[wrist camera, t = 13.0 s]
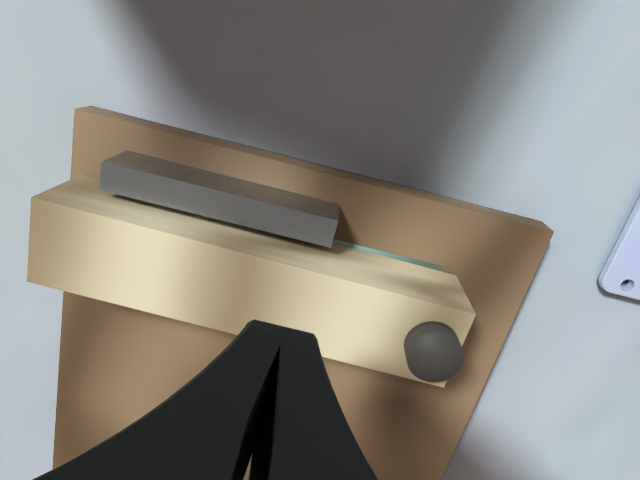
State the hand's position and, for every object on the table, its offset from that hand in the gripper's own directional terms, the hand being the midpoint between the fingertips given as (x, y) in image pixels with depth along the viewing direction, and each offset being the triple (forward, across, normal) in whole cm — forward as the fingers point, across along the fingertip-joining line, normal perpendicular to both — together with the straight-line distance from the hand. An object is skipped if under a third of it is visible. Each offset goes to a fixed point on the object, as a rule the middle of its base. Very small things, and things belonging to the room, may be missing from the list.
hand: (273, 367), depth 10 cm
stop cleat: (+9, +3, -1) cm, 10 cm away
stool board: (+10, 0, +7) cm, 13 cm away
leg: (+9, +1, +2) cm, 9 cm away
